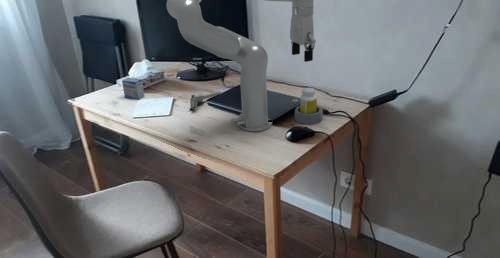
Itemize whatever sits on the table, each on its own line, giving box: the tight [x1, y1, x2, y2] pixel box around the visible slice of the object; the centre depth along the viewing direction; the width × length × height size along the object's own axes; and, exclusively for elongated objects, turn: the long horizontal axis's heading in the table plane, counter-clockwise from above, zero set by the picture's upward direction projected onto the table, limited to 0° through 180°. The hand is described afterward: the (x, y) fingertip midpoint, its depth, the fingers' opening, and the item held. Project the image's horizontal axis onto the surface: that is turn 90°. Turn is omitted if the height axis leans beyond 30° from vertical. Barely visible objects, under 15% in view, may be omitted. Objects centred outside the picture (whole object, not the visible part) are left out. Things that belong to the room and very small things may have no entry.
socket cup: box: [294, 105, 324, 125], centre depth 162 cm, size 10×10×4 cm
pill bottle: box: [299, 87, 317, 114], centre depth 160 cm, size 6×6×11 cm
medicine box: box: [121, 77, 145, 101], centre depth 190 cm, size 8×4×9 cm, turn 68°
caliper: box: [189, 91, 223, 110], centre depth 183 cm, size 20×1×6 cm, turn 145°
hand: (301, 57), depth 158 cm, fingers open, 9 cm apart
